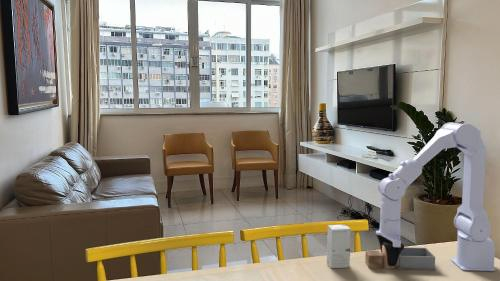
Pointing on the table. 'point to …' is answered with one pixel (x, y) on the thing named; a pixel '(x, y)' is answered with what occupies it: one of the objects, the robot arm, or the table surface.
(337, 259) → the skincare box
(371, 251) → the cube
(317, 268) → the table surface
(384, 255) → the cylinder
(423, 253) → the tote
